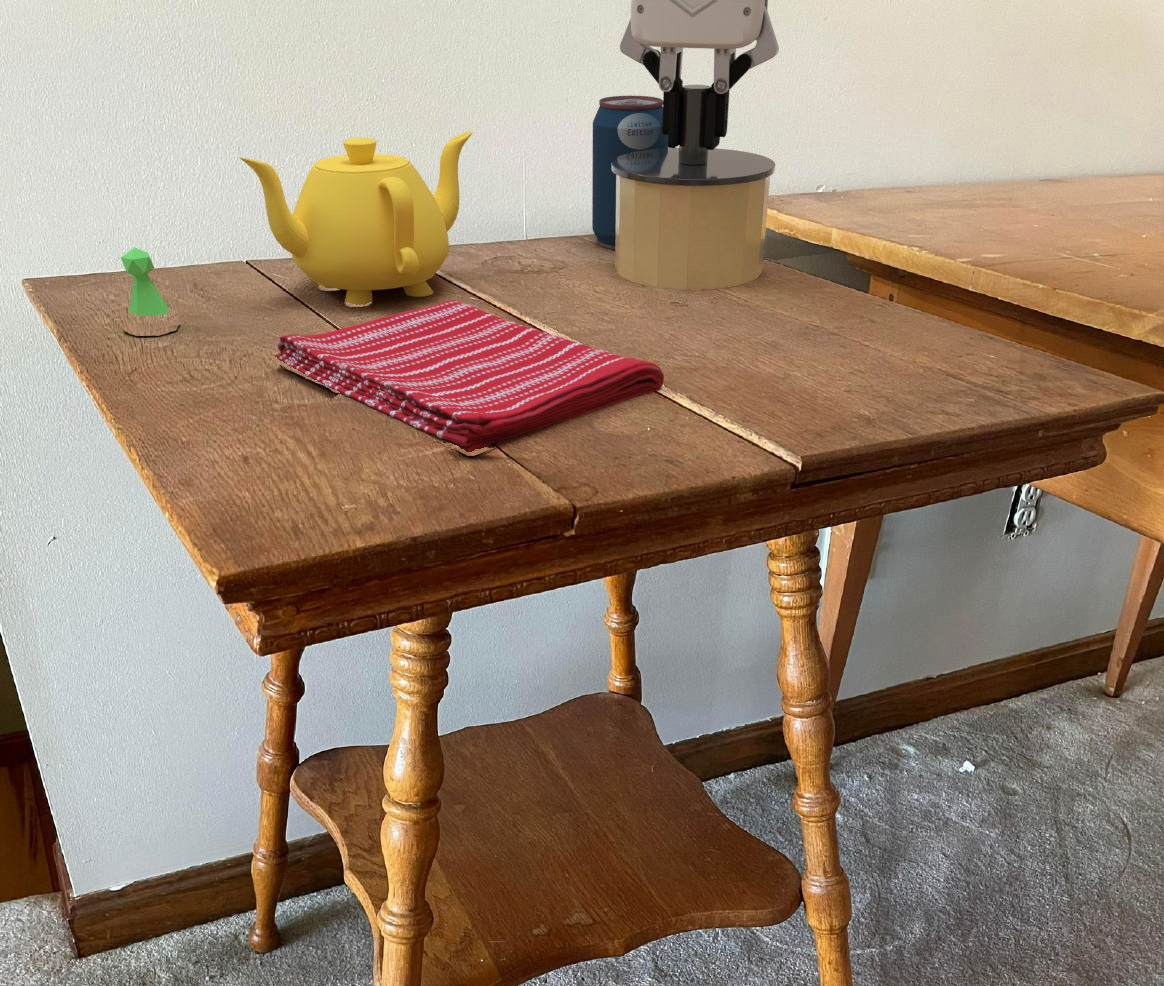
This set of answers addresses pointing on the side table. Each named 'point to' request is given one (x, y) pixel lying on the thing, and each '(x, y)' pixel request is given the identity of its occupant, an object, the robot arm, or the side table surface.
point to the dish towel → (467, 372)
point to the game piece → (143, 285)
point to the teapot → (366, 219)
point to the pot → (690, 233)
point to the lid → (693, 154)
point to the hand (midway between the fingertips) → (694, 143)
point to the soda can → (620, 151)
